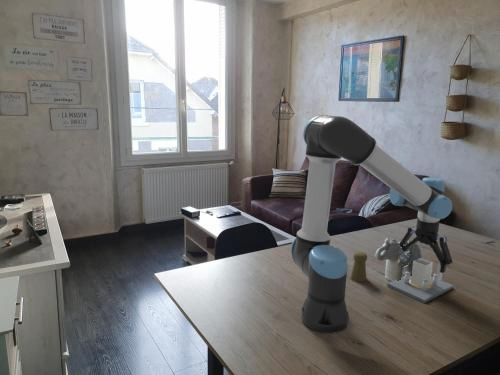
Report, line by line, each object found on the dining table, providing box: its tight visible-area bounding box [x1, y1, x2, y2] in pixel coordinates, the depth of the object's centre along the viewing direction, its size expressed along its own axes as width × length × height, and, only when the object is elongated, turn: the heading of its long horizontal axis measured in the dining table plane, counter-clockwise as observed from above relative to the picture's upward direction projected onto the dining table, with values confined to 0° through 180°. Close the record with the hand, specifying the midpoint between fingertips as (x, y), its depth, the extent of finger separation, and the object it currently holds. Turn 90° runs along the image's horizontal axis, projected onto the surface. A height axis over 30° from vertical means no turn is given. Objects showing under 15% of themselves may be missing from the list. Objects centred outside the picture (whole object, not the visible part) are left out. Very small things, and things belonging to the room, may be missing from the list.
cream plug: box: [411, 258, 434, 288], centre depth 142 cm, size 5×5×9 cm
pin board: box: [386, 271, 454, 304], centre depth 142 cm, size 20×15×6 cm
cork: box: [350, 251, 368, 283], centre depth 148 cm, size 6×6×11 cm
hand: (421, 272), depth 142 cm, fingers open, 13 cm apart
